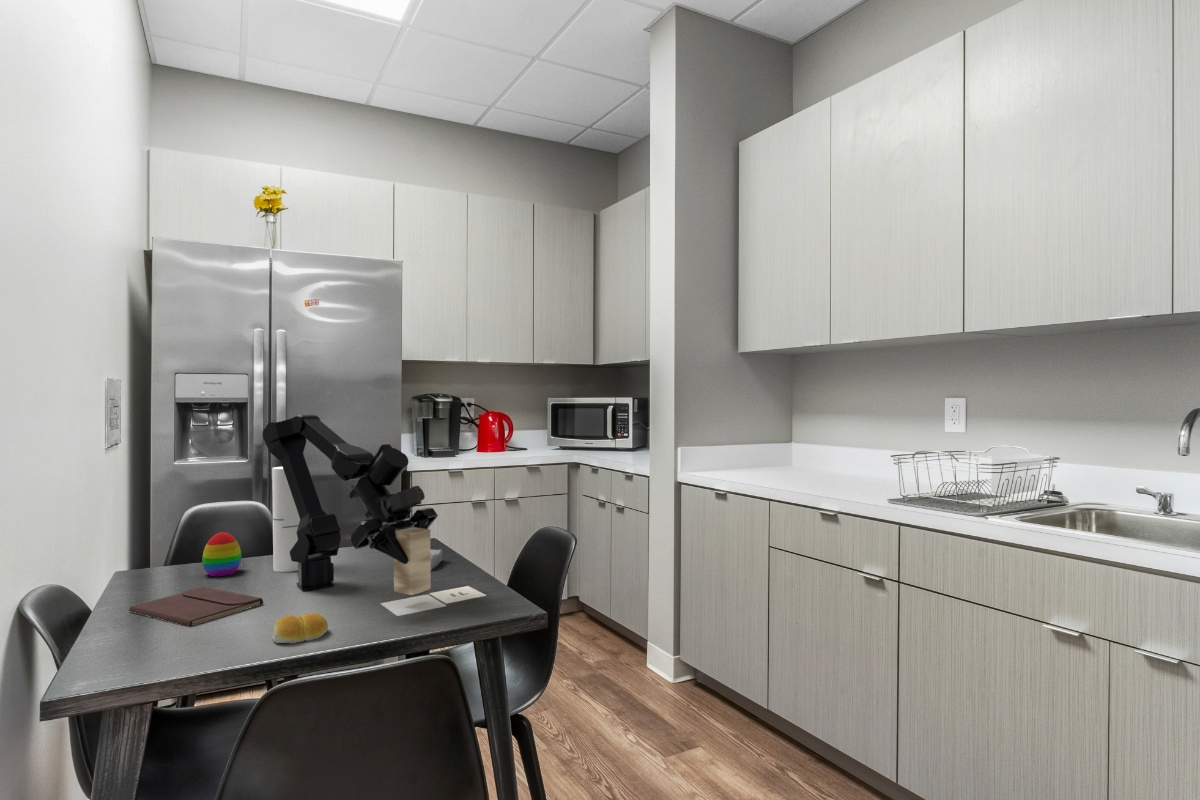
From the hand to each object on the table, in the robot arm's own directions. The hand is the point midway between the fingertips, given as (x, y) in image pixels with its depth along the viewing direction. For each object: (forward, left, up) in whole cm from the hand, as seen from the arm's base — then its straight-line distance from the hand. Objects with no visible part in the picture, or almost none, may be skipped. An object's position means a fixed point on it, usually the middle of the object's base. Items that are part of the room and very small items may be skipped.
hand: (417, 559), depth 133 cm
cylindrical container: (-13, +50, -10) cm, 53 cm away
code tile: (+10, +2, -9) cm, 14 cm away
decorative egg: (-27, +55, -10) cm, 62 cm away
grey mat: (0, +1, -9) cm, 10 cm away
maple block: (-1, +1, -6) cm, 6 cm away
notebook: (-35, +27, -10) cm, 46 cm away
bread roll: (-23, -3, -10) cm, 25 cm away
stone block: (+12, +32, -10) cm, 35 cm away
